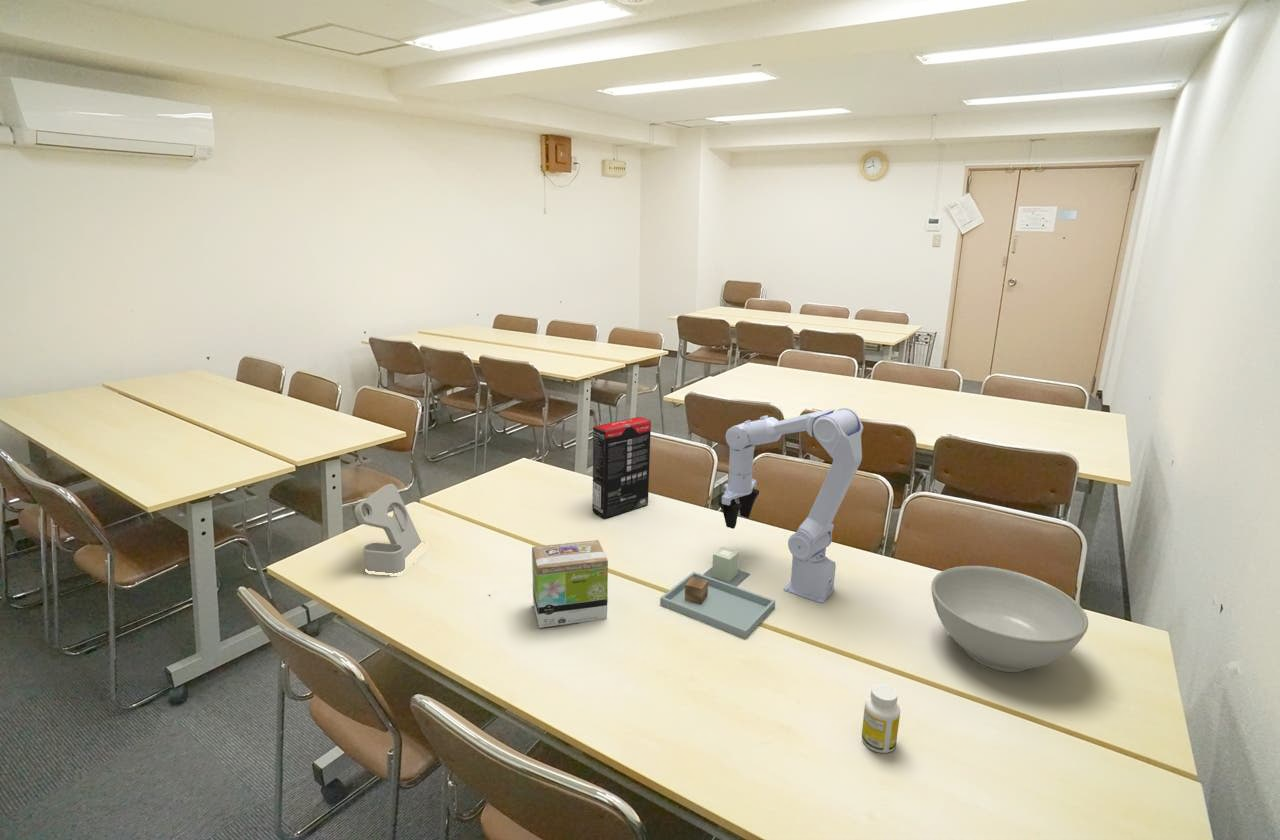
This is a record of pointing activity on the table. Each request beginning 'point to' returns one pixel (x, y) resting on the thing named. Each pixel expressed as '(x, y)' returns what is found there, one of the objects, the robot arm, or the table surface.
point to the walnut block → (696, 590)
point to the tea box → (569, 583)
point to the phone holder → (388, 530)
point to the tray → (721, 606)
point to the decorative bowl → (1007, 617)
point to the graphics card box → (621, 466)
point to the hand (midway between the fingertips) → (737, 521)
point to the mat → (734, 581)
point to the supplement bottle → (881, 719)
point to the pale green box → (725, 564)
